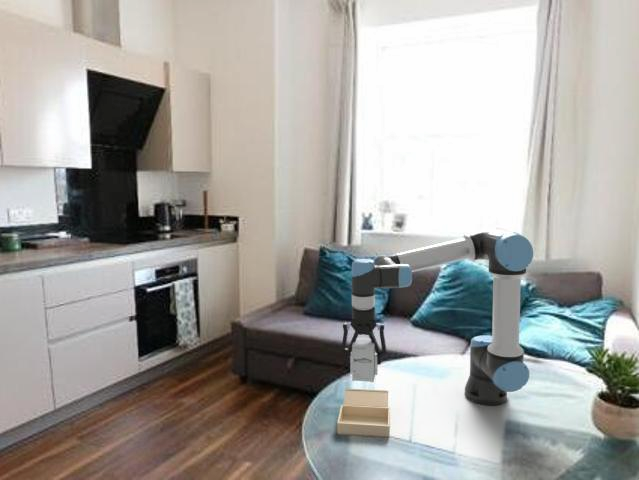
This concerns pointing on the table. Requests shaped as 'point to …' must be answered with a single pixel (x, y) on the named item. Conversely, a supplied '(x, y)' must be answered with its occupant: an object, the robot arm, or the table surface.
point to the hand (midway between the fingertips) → (364, 372)
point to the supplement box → (363, 360)
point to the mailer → (364, 421)
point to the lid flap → (366, 397)
